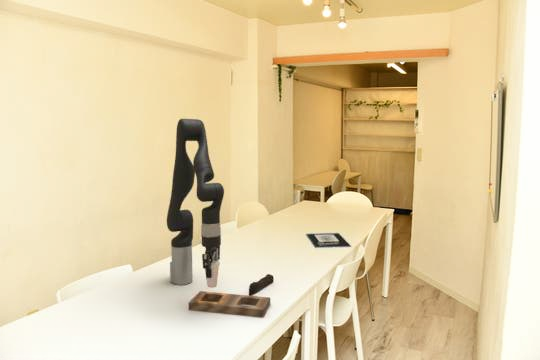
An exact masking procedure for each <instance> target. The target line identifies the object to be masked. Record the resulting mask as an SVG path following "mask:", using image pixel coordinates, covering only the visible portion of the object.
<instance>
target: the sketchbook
mask: <svg viewBox="0 0 540 360" xmlns="http://www.w3.org/2000/svg"><path fill="white" fill-rule="evenodd" d="M305 235H306V237H307V239H308V240H309V241H310V243H311V245H312V247H314V249H325V248H327V249H330V248H331V249H332V248H333V247H335V248H351V247H352V245H351V244H350V243H349V242H348V241H347V240H346V239H345V238H344V236H342V235H341V234H340V233H339V232H318V233H317V232H314V233H312V232H309V233H308V232H307V233H305Z"/></svg>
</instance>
